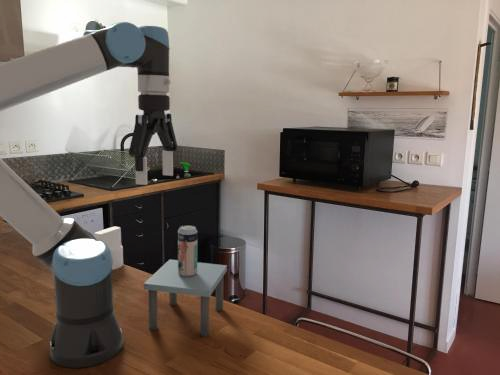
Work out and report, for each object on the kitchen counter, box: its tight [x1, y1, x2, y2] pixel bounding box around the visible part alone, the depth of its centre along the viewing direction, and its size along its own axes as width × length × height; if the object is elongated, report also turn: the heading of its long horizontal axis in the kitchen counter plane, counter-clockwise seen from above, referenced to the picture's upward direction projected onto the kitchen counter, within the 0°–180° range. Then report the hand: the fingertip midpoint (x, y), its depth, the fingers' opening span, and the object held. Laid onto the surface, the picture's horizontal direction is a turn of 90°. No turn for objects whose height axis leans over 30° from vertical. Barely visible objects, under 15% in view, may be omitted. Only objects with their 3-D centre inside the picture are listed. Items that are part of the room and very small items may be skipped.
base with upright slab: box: [93, 225, 124, 271], centre depth 141 cm, size 9×9×12 cm
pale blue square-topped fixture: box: [143, 259, 228, 338], centre depth 108 cm, size 16×16×12 cm
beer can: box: [177, 224, 199, 277], centre depth 106 cm, size 5×5×12 cm
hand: (155, 179), depth 109 cm, fingers open, 13 cm apart
